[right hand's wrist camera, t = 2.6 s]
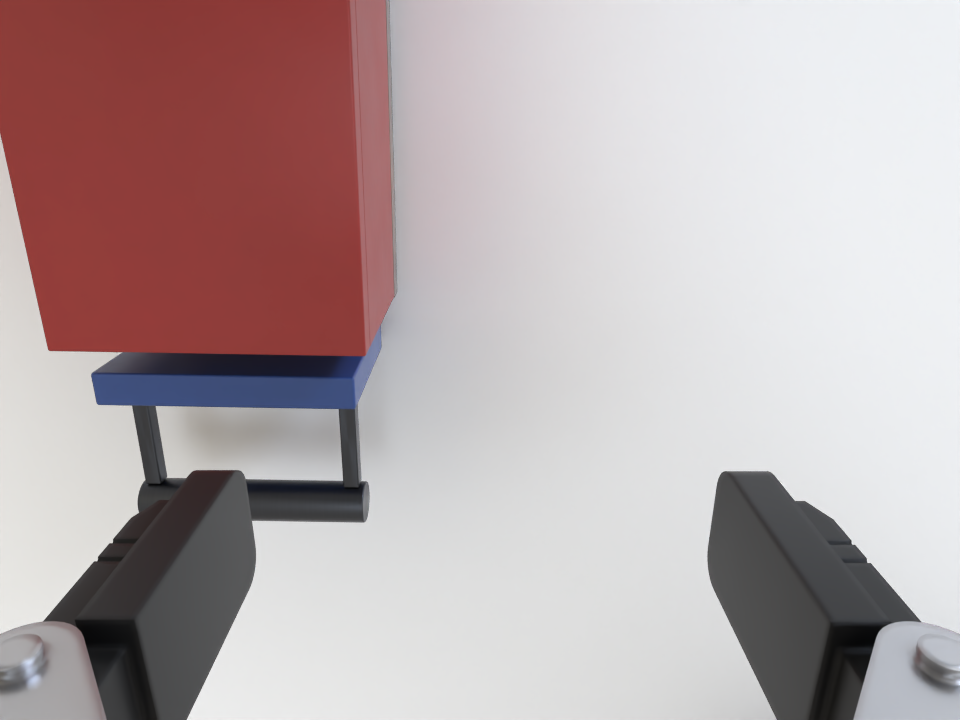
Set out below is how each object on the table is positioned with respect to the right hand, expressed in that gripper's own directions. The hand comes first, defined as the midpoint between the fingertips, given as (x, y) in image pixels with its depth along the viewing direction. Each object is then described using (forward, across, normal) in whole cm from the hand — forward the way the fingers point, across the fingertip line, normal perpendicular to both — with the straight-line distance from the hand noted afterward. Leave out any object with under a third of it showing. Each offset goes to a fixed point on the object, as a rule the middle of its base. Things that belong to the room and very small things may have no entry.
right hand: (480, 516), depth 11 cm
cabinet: (+18, +8, -9) cm, 22 cm away
